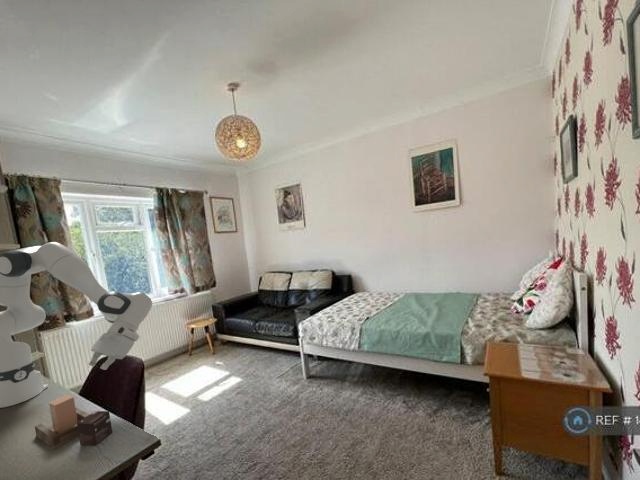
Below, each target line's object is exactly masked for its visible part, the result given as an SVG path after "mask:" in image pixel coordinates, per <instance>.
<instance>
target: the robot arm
mask: <svg viewBox="0 0 640 480" xmlns="http://www.w3.org/2000/svg"><path fill="white" fill-rule="evenodd" d="M44 271H46V272H48V273H49V274H50V275H52V276H53V277H54V278H56V279H57V280H59V281H60V282H61V283H63V284H66V285H67V286H69V287H71V288H72V289H74V290H77V291H78V292H80V293H81V294H83V295H85V296H86V297H87V298H88V299H90V300H91V302H93V303H94V304H95V305H96V306H97V309H98V310H99V312H100V313H101V315H102V316H104V318H105V320H106V322H108V323H110V324H111V325H110V326H109V328H108V330H107V332H106V333H105V332H104V333H102V335H100V337H98V338H97V340H96V342H95V343H94V344H93V345H92V347H91V348H90V351H91V352H93V354H92V356H91V360H90V361H89V362H88V365H89V366H90V367H95V366H96V364H97V363H98V361H99V360H98V359H99V358H101V356H102V355H103V356H106V357H107V360H105V362H103V363H102V364H101V365H100V367H99V368H100V369H101V370H103V371H105V370H106V371H107V369H109V366H111V365H112V364H113V363H114V362H115V361H116V359H117V360H123V359H124V358H126V356H127V355H128V353H129V352H130V351H131V350H132V348H133V347H134V345H135V342H136V341H138V340H139V338H140V335H139V334H138V333H137V331H138V329H139V327H140V325H141V324H142V322H143V321H144V320H145V319H146V317H147V316H148V314H149V313H150V311H151V309H152V307H153V300H152V299H151V297H149V296H148V295H146V294H145V293H144V292H140V291H139V292H138V291H137V292H135V293H134V292H130V293H127V292H119V291H113V290H112V291H108V290H107V289H105V288H104V287H103V286H102V285H101V284H100V283H99V281H98V280H97V279H96V277H95V275H94V273H93V272H92V269H91V268H90V267H89V265H88V263H86V261H85V260H84V259H83V258H82V257H81V255H78V254H77V253H76V252H75V251H74V250H72V249H70V248H69V247H67V246H65V244H64V245H63V244H62V243H59V242H57V241H50V242H46V243H44V244H42V245H36V246H35V245H34V246H28V247H24V248H23V247H22V248H18V249H10V250H7V251H3V252H2V253H0V306H3V307H7V308H6V310H3V311H0V409H2V408H7V407H10V406H15V405H17V404H21V403H23V402H25V401H28V400H31V399H32V398H35V397H36V396H38V395H40V394H41V393H42V392H43V391H44V390H46V389H47V388H49V384H45V383H44V382H43V379H42V378H43V377H42V373H41V371H40V370H37V369H36V363H35V362H34V360H33V355H32V351H31V350H32V349H31V346H30V344H29V343H27V342H23V341H14V340H13V338H12V336H14V335H16V334H21V333H22V332H27V331H30V330H32V329H34V328H36V327H39V326H41V325H42V324H44V322H45V321H46V318H47V315H46V310H45V309H44V308H43V307H42V306H40V305H38V304H35V303H34V302H33V301H32V299H31V295H30V294H31V292H30V291H31V282H32V275H34V274H38V273H40V272H44Z"/></svg>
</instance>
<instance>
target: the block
mask: <svg viewBox="0 0 640 480" xmlns="http://www.w3.org/2000/svg"><path fill="white" fill-rule="evenodd" d="M48 405H49V411H50V412H49V413H50V417H51V424H52V425H53V430H54V432H55V433H57V434H59V433H61V432H62V431H64V430H66V429H68V428H70V427H72V426H74V425H76V424H77V423H78V421H77V415H76V409H75V407H76V404H75V397H74V396H72V395H70V394H65V395H63V396H61V397H58V398H56V399H55V400H52V401H50V402H48Z"/></svg>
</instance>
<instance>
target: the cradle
mask: <svg viewBox="0 0 640 480" xmlns="http://www.w3.org/2000/svg"><path fill="white" fill-rule="evenodd" d="M75 409H76V415H77V421H78V422H79V421H81V420H82V419H84V418H85V417H86V416H88V415H90V414H91V413H88V412H86V411H84V410H82V409H79V408H78V407H76V406H75ZM34 431H35V436H36V437H37V438H38V439H39V440H41V441H42V442H43V443H45V444H46V445H47V446H49V447H50V448H52V449H53V450H56V449H59V448H60V447H62V446H64V445H66V444H68V443H70V442H71V441H73V440H75V439H77V438H79V432H78V426H77V424H76V425H74V426H72V427H70V428H68V429H66V430H64V431H62V432H61V433H59V434H57V433H55V432H54V430H53V424H52V425H50V426H48V427H47V426H45V425H44V424H43V423H41V422H40V423H37V424H36V425H34Z"/></svg>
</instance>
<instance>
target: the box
mask: <svg viewBox="0 0 640 480" xmlns="http://www.w3.org/2000/svg"><path fill="white" fill-rule="evenodd" d="M89 414H90V415H88V416H86V417H85V418H84V419H82V420H81V421H79V422H78V423H77V426H78V432H79V436H78V438H79V439H78V440H79V444H80V446H93V447H96V446H97V445H98V444H100V443H101V442H103V441H104V440H105V439H106V438H108V437H109V436H110V435H112V433H113V427H112V421H111V416H110V411H108V410H107V411H106V410H104V411H103V410H96V411H93V412H91V413H89Z"/></svg>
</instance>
